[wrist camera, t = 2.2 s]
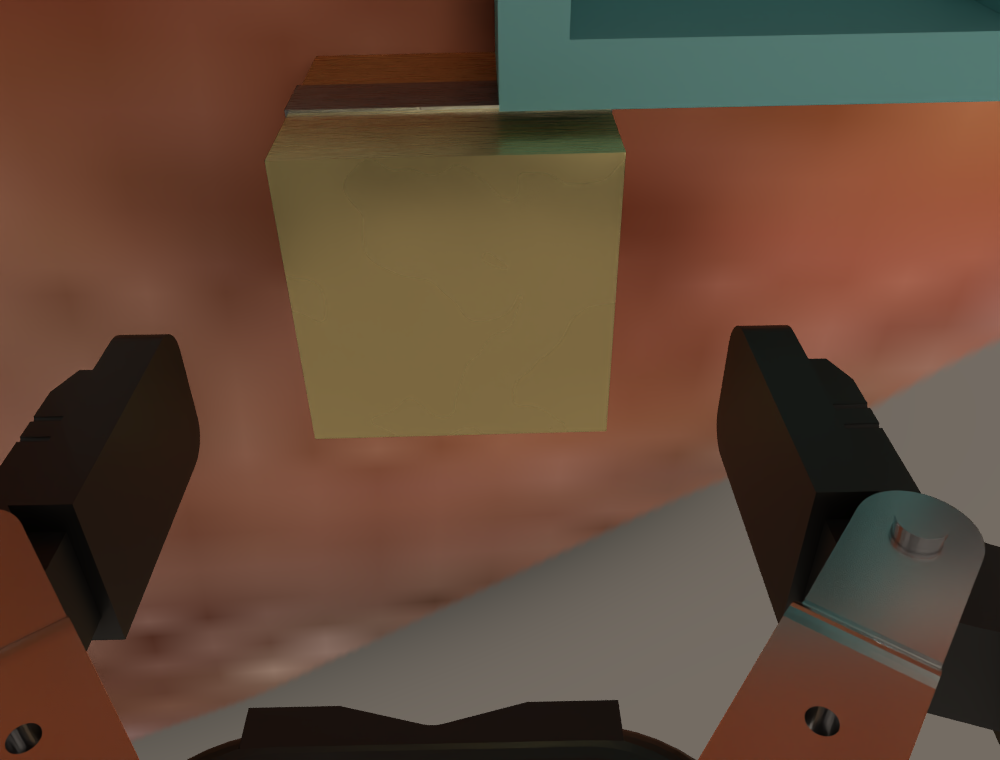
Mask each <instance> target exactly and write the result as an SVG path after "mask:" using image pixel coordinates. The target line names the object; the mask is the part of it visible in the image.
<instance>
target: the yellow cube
mask: <svg viewBox="0 0 1000 760" xmlns="http://www.w3.org/2000/svg"><path fill="white" fill-rule="evenodd" d="M284 111H285V117H286V119H285V121H284V123H283V125H282V127H281V129H280V131H279V133H278V135H277V137H276V139H275V141H274V143H273V145H272V147H271V149H270V151H269V153H268V155H267V157H266V159H265V166H266V172H267V177H268V183H269V188H270V194H271V199H272V205H273V210H274V216H275V221H276V227H277V232H278V238H279V243H280V249H281V254H282V260H283V265H284V271H285V276H286V282H287V287H288V293H289V298H290V304H291V309H292V315H293V320H294V326H295V331H296V337H297V342H298V348H299V353H300V359H301V364H302V370H303V375H304V381H305V386H306V392H307V397H308V403H309V408H310V414H311V419H312V425H313V430H314V436H315V439H328V438H366V437H404V436H441V435H479V434H517V433H554V432H592V431H606V427H607V413H608V399H609V385H610V371H611V357H612V342H613V328H614V314H615V300H616V286H617V272H618V257H619V243H620V229H621V215H622V201H623V187H624V173H625V158H626V151H625V148H624V146H623V143H622V140H621V137H620V134H619V132H618V129H617V126H616V123H615V120H614V118H613V115H612V109H599V110H552V111H505V112H499V101H498V87H497V72H496V57H495V52H473V53H431V54H389V55H347V56H316V58H315V60H314V62H313V64H312V66H311V68H310V70H309V72H308V74H307V76H306V78H305V80H304V82H303V84H302V85H297V86H296V88H295V90H294V92H293V94H292V96H291V98H290V100H289V102H288V104H287V106H286V108H285V110H284Z"/></svg>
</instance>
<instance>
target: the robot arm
mask: <svg viewBox="0 0 1000 760" xmlns="http://www.w3.org/2000/svg"><path fill="white" fill-rule="evenodd" d="M717 439H718V447H719V451H720V455H721V458H722V461H723V464H724V467H725V470H726V473H727V476H728V478H729V481H730V484H731V487H732V490H733V493H734V496H735V499H736V502H737V505H738V508H739V510H740V513H741V516H742V519H743V522H744V525H745V527H746V531H747V534H748V537H749V540H750V543H751V545H752V548H753V551H754V554H755V557H756V560H757V563H758V565H759V569H760V572H761V574H762V577H763V580H764V583H765V586H766V589H767V592H768V595H769V598H770V601H771V603H772V607H773V610H774V612H775V615H776V618H777V621H778V625H777V627H776V629H775V630H774V632H773V634H772V636H771V637H770V639H769V641H768V643H767V644H766V646H765V647H764V649H763V651H762V652H761V654H760V656H759V658H758V659H757V661H756V663H755V664H754V666H753V668H752V670H751V671H750V673H749V675H748V676H747V678H746V680H745V681H744V683H743V685H742V686H741V688H740V690H739V691H738V693H737V695H736V696H735V698H734V700H733V702H732V703H731V705H730V707H729V708H728V710H727V712H726V714H725V715H724V717H723V719H722V720H721V722H720V724H719V725H718V727H717V729H716V730H715V732H714V734H713V735H712V737H711V739H710V741H709V742H708V744H707V746H706V747H705V749H704V751H703V752H702V754H701V756H700V758H699V759H698V760H909V758H910V755H911V753H912V750H913V747H914V745H915V742H916V740H917V737H918V734H919V732H920V729H921V727H922V724H923V721H924V719H925V716H926V713H930V714H934V715H937V716H941V717H945V718H949V719H953V720H956V721H960V722H965V723H968V724H972V725H976V726H979V727H984V728H987V729H991V730H993V731H994V733H995V735H996V738H997V740H998V742H999V744H1000V547H998V546H994V545H990V544H987V543H985V542H984V540H983V537H982V535H981V534H980V532H979V530H978V528H977V527H976V526H975V525H974V524H973V522H972V521H971V520H970V519H969V518H968V517H967V516H965V515H964V514H963V513H961V512H960V511H959V510H957V509H956V508H954V507H953V506H951V505H949V504H947V503H946V502H943V501H941V500H939V499H937V498H934V497H931V496H928V495H925V494H921V492H920V491H919V489H918V487H917V486H916V484H915V482H914V481H913V479H912V477H911V476H910V474H909V472H908V471H907V469H906V467H905V466H904V464H903V462H902V461H901V459H900V457H899V456H898V454H897V452H896V451H895V449H894V447H893V445H892V444H891V442H890V441H889V439H888V437H887V436H886V434H885V432H884V430H883V429H882V428H879V422H878V420H877V419H876V417H875V415H874V414H873V412H872V410H871V409H870V408H867V402H866V400H865V399H864V397H863V395H862V394H861V392H860V390H859V389H858V387H857V385H856V383H855V382H854V380H853V379H852V378H851V377H849V376H848V375H847V374H845V373H844V372H843V371H841V370H840V369H839V368H838V367H836V366H835V365H834V364H832V363H831V362H830V361H828V360H827V359H808V358H807V356H806V354H805V352H804V350H803V348H802V346H801V345H800V343H799V341H798V339H797V337H796V335H795V334H794V332H793V330H792V329H791V327H790V326H788V325H766V326H736V327H735V328H734V329H733V331H732V333H731V336H730V341H729V346H728V352H727V358H726V364H725V370H724V376H723V382H722V388H721V394H720V400H719V406H718V413H717ZM199 445H200V431H199V422H198V418H197V414H196V410H195V406H194V402H193V398H192V394H191V391H190V387H189V383H188V379H187V375H186V371H185V368H184V364H183V360H182V356H181V352H180V349H179V346H178V343H177V341H176V339H175V338H174V337H173V336H172V335H169V334H160V335H118V336H115V337H114V338H113V339H112V340H111V342H110V344H109V345H108V347H107V348H106V350H105V351H104V353H103V355H102V356H101V358H100V359H99V361H98V363H97V364H96V366H95V367H94V369H93V370H79V371H78V372H76V373H75V374H74V375H72V376H71V377H70V378H68V379H67V380H66V381H64V382H63V383H62V384H60V385H59V386H58V387H56V388H55V389H54V390H52V391H51V392H50V393H49V395H48V396H47V398H46V399H45V401H44V402H43V404H42V405H41V407H40V408H39V409H38V411H37V412H36V414H35V415H34V422H30V423H29V424H28V426H27V427H26V429H25V430H24V432H23V433H22V435H21V436H20V442H16V444H15V445H14V447H13V448H12V450H11V451H10V453H9V454H8V455H7V457H6V458H5V460H4V461H3V463H2V464H1V466H0V760H139V758H138V756H137V754H136V752H135V750H134V748H133V746H132V744H131V742H130V740H129V737H128V735H127V733H126V731H125V729H124V727H123V725H122V723H121V721H120V719H119V717H118V715H117V713H116V711H115V709H114V707H113V705H112V703H111V701H110V699H109V697H108V695H107V693H106V691H105V689H104V687H103V685H102V683H101V681H100V679H99V677H98V675H97V673H96V671H95V669H94V666H93V664H92V662H91V660H90V658H89V656H88V654H87V652H86V651H87V649H88V647H89V645H90V642H91V640H124V639H126V637H127V634H128V632H129V629H130V627H131V624H132V622H133V619H134V617H135V614H136V612H137V609H138V607H139V604H140V602H141V599H142V597H143V594H144V592H145V589H146V587H147V584H148V582H149V579H150V577H151V574H152V572H153V569H154V567H155V564H156V562H157V559H158V557H159V554H160V552H161V549H162V547H163V544H164V542H165V539H166V537H167V534H168V532H169V529H170V527H171V524H172V522H173V519H174V517H175V514H176V512H177V509H178V507H179V504H180V502H181V500H182V497H183V495H184V492H185V490H186V487H187V485H188V482H189V480H190V477H191V475H192V472H193V470H194V467H195V465H196V462H197V458H198V453H199ZM188 760H695V759H693V758H692V757H690V756H689V755H687V754H685V753H684V752H682V751H681V750H679V749H677V748H674V747H672V746H670V745H668V744H666V743H664V742H662V741H660V740H657V739H655V738H651V737H649V736H646V735H643V734H640V733H637V732H632V731H629V730H624V729H622V724H621V717H620V710H619V704H618V700H605V701H604V700H603V701H557V702H555V701H554V702H526V703H522V704H519V705H514V706H510V707H507V708H503V709H499V710H495V711H491V712H487V713H484V714H480V715H476V716H472V717H468V718H464V719H460V720H456V721H453V722H449V723H445V724H440V725H423V724H419V723H414V722H409V721H405V720H400V719H396V718H391V717H387V716H382V715H377V714H373V713H369V712H364V711H359V710H354V709H351V708H346V707H342V706H321V707H275V708H249V710H248V714H247V717H246V722H245V726H244V730H243V734H242V738H240V739H237V740H233V741H229V742H227V743H224V744H221V745H219V746H216V747H213V748H211V749H208V750H206V751H204V752H202V753H200V754H198V755H196V756H194V757H192V758H189V759H188Z"/></svg>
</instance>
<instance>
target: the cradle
mask: <svg viewBox="0 0 1000 760" xmlns="http://www.w3.org/2000/svg"><path fill="white" fill-rule="evenodd" d="M494 12H495V57H496V72H497V87H498V101H499V112H505V111H552V110H599V109H647V108H694V107H742V106H789V105H837V104H884V103H931V102H979V101H1000V0H494Z"/></svg>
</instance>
